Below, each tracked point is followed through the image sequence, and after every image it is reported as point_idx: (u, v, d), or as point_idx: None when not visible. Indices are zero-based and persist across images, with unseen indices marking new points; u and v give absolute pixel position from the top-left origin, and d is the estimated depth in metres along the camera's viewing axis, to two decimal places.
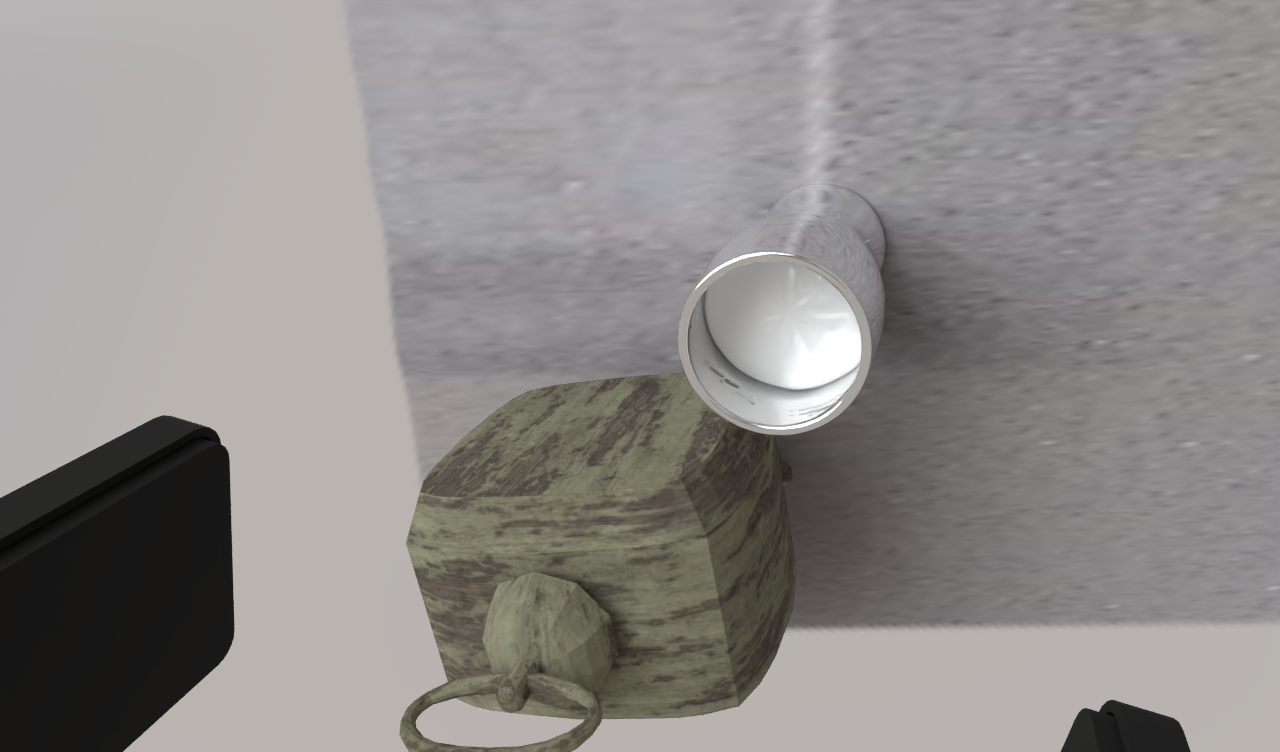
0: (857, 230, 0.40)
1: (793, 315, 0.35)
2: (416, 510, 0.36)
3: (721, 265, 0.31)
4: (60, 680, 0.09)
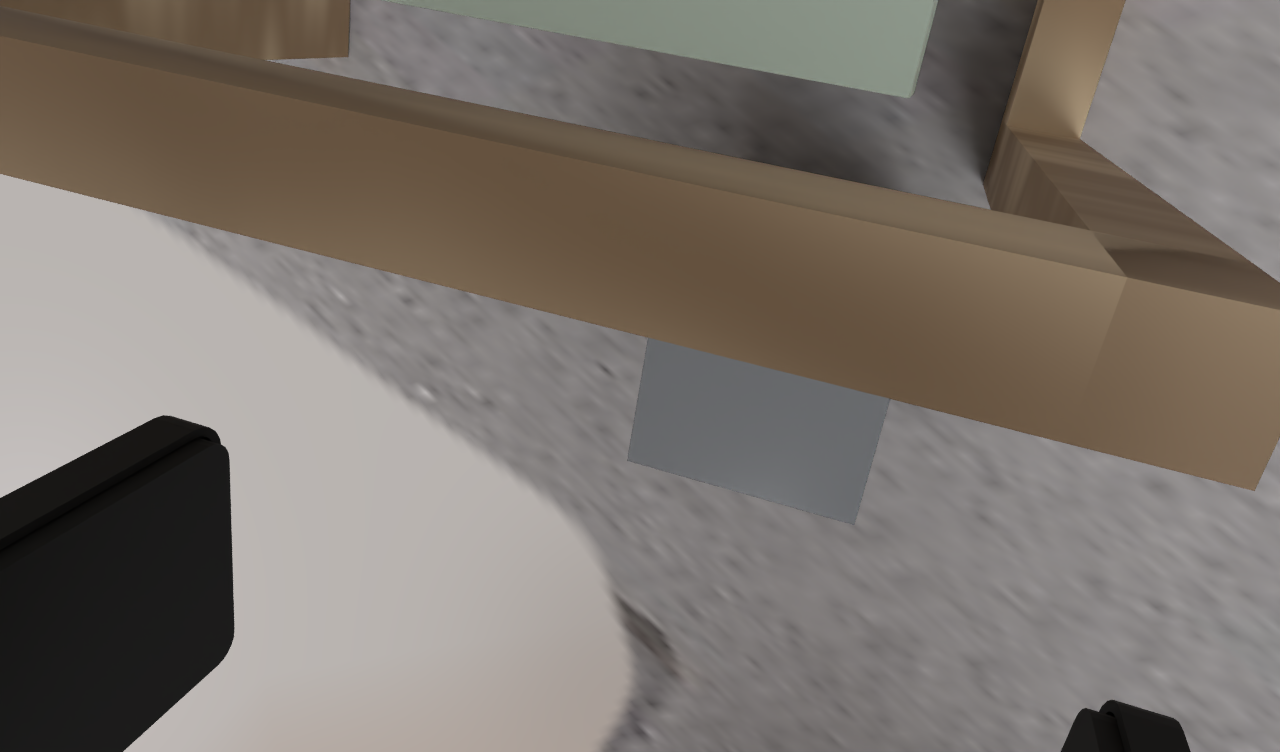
0: None
1: None
2: None
3: None
4: (59, 680, 0.09)
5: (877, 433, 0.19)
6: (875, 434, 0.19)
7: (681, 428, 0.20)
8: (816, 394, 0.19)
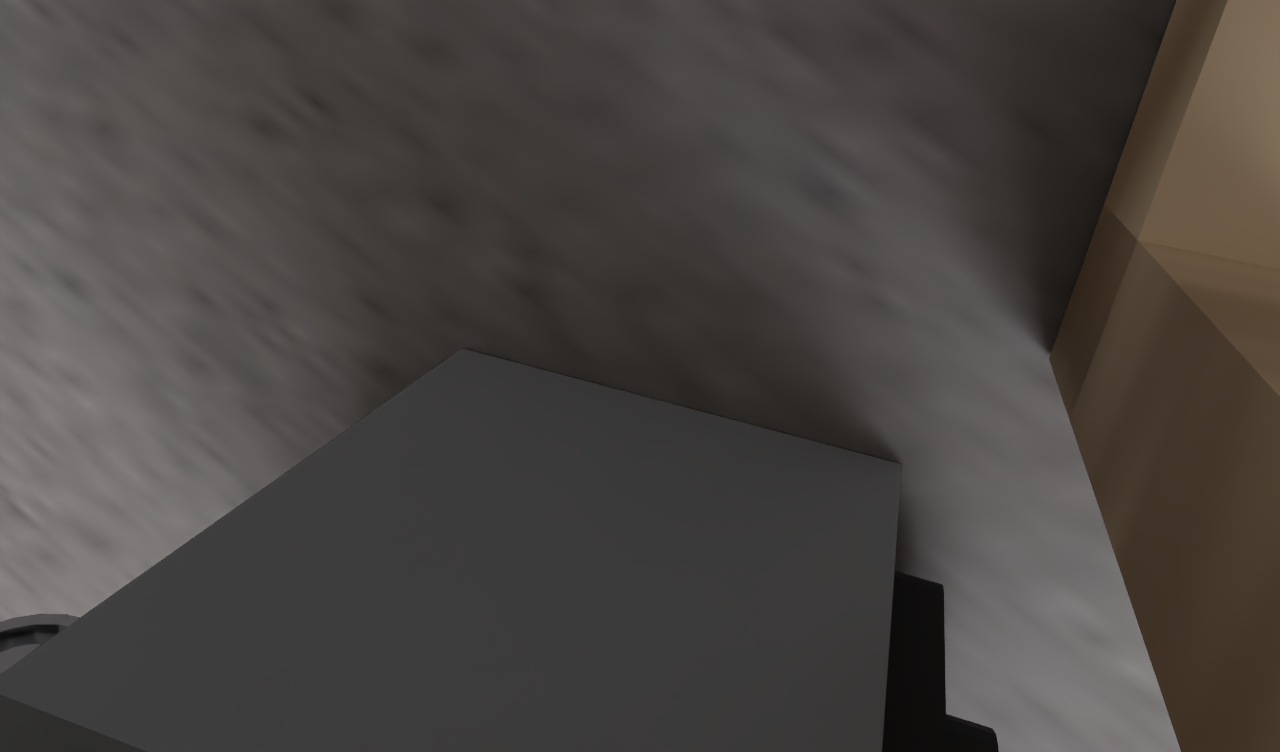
0: None
1: None
2: None
3: None
4: None
5: None
6: None
7: None
8: None
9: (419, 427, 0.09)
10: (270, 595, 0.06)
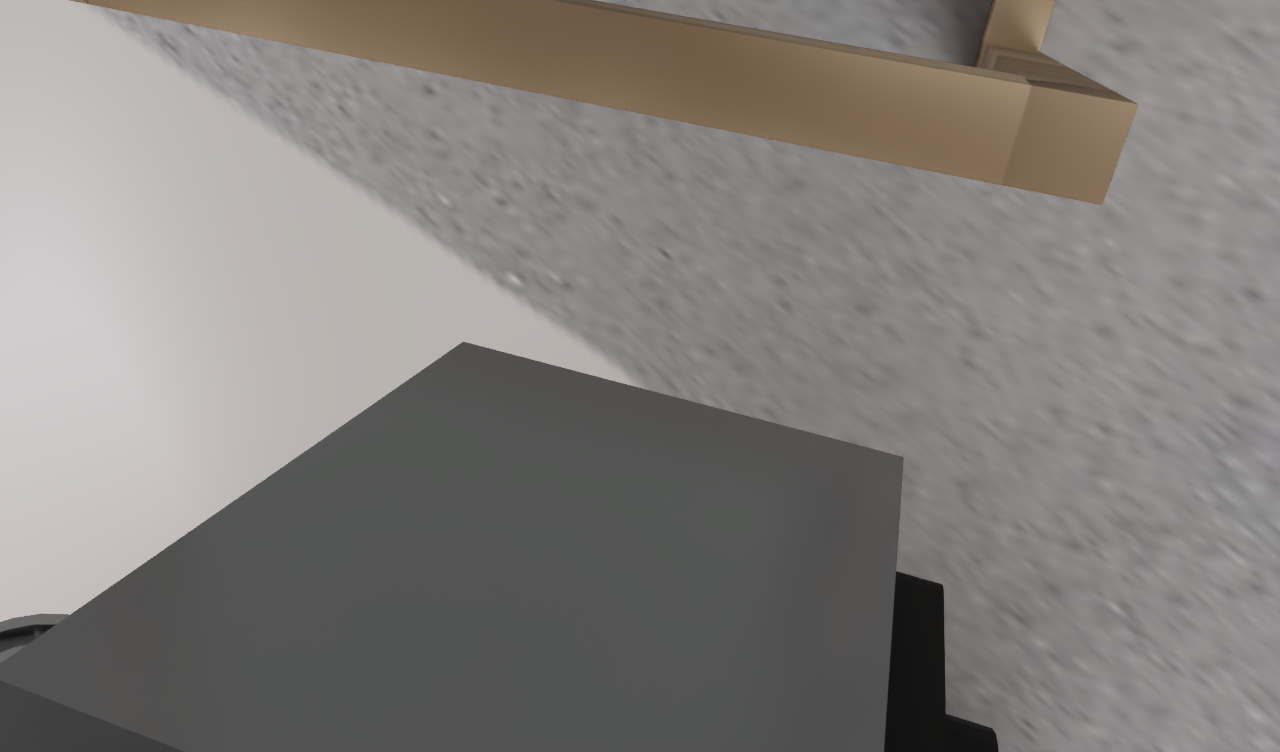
0: None
1: None
2: None
3: None
4: None
5: None
6: None
7: None
8: None
9: (420, 420, 0.09)
10: (272, 585, 0.06)
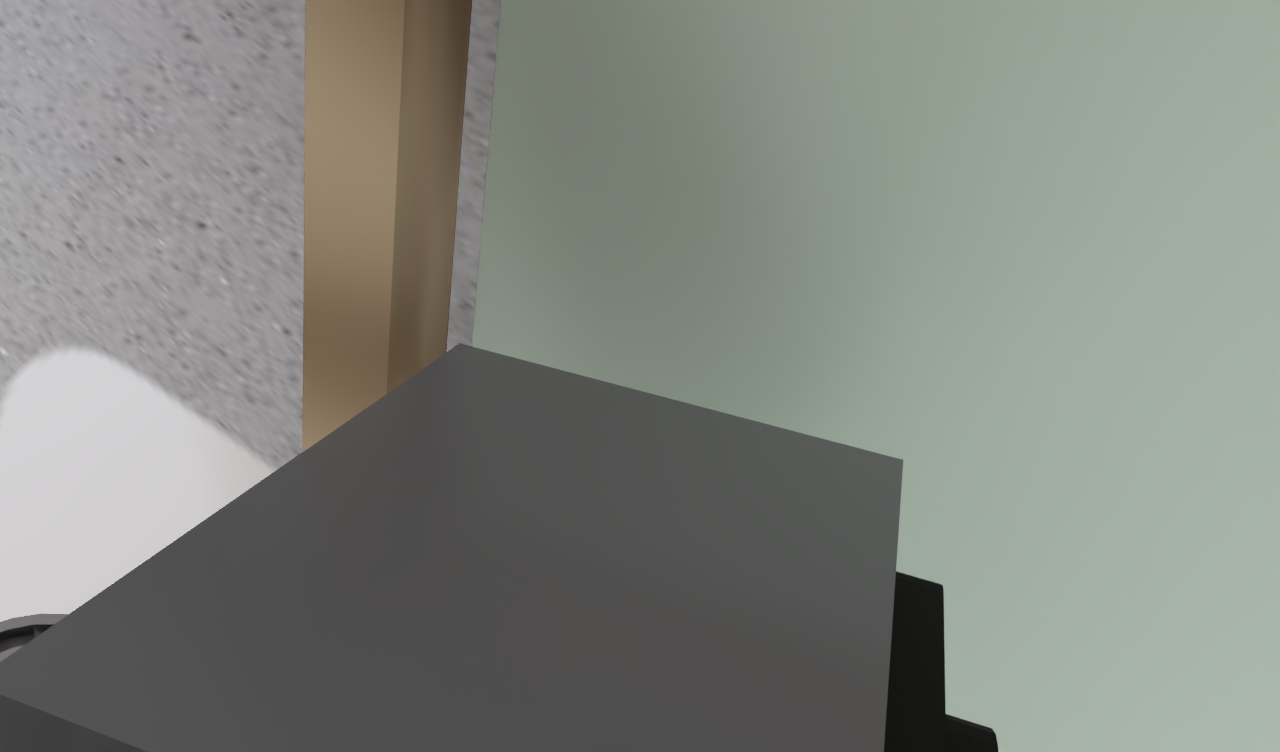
0: None
1: None
2: None
3: None
4: None
5: None
6: None
7: None
8: None
9: (414, 423, 0.09)
10: (264, 590, 0.06)
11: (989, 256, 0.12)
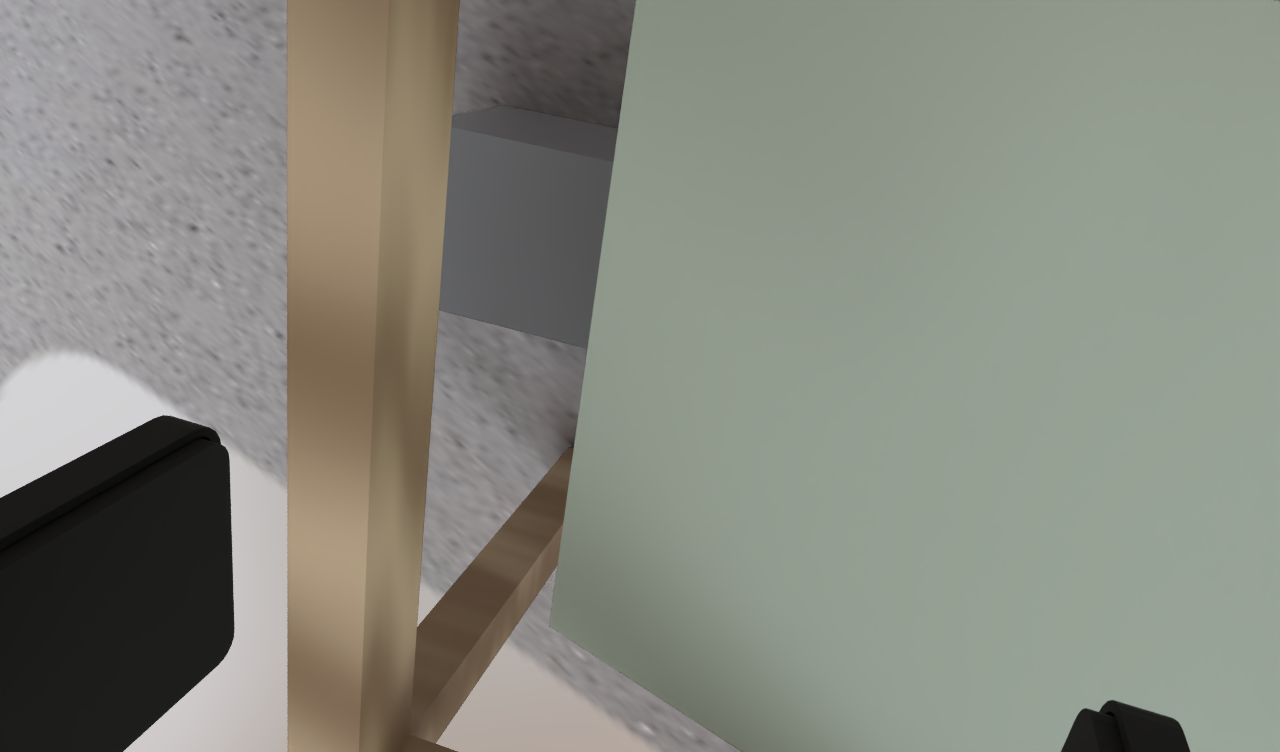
0: None
1: None
2: None
3: None
4: (60, 680, 0.09)
5: None
6: None
7: None
8: None
9: None
10: (535, 116, 0.27)
11: (1001, 232, 0.14)
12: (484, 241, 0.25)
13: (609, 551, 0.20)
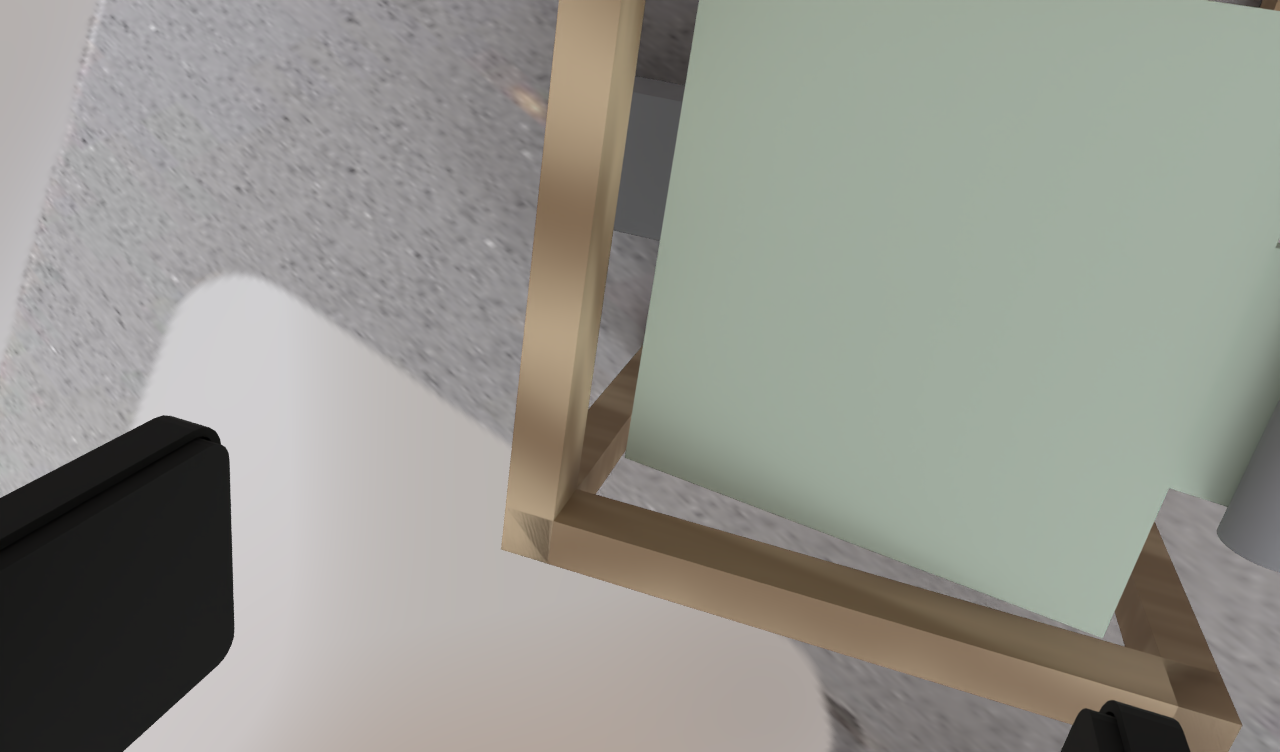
0: None
1: None
2: None
3: None
4: (60, 680, 0.09)
5: None
6: None
7: None
8: None
9: None
10: None
11: (962, 132, 0.22)
12: None
13: (677, 389, 0.27)
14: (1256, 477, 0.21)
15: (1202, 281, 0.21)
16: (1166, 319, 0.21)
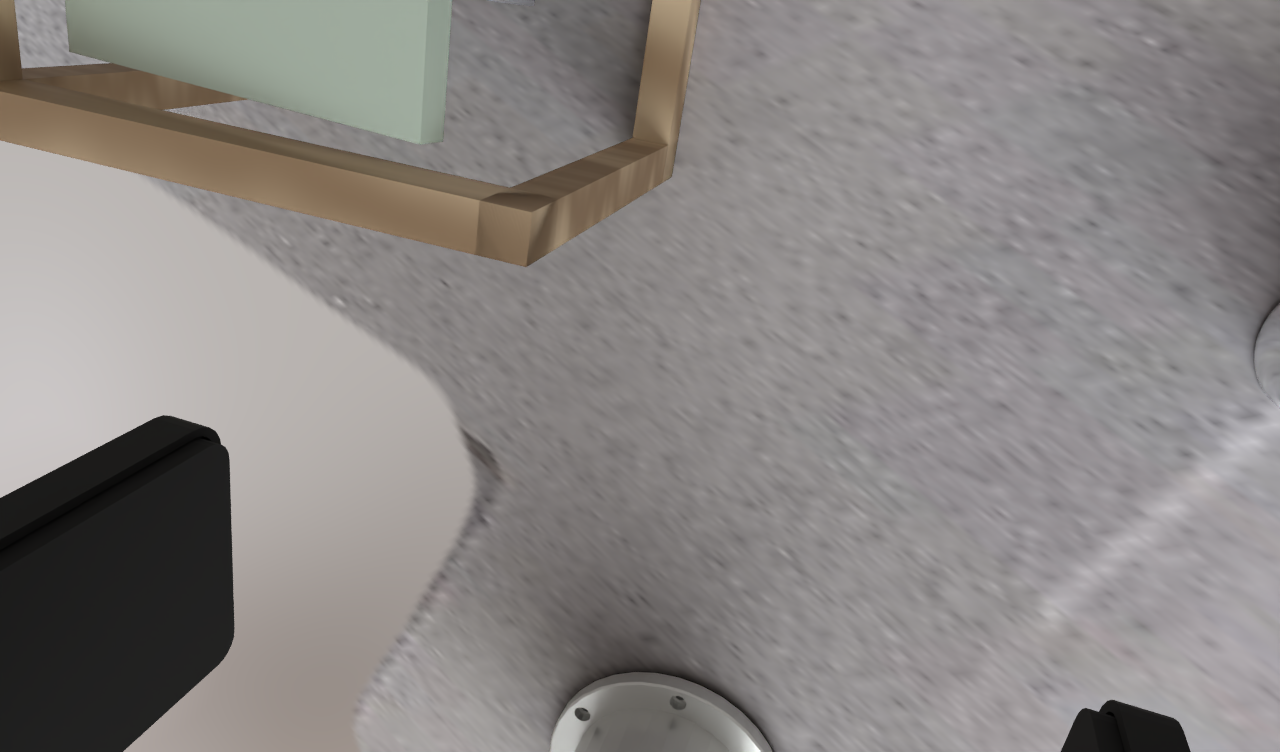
0: None
1: None
2: None
3: None
4: (60, 680, 0.09)
5: None
6: None
7: None
8: None
9: None
10: None
11: None
12: None
13: None
14: None
15: None
16: None
